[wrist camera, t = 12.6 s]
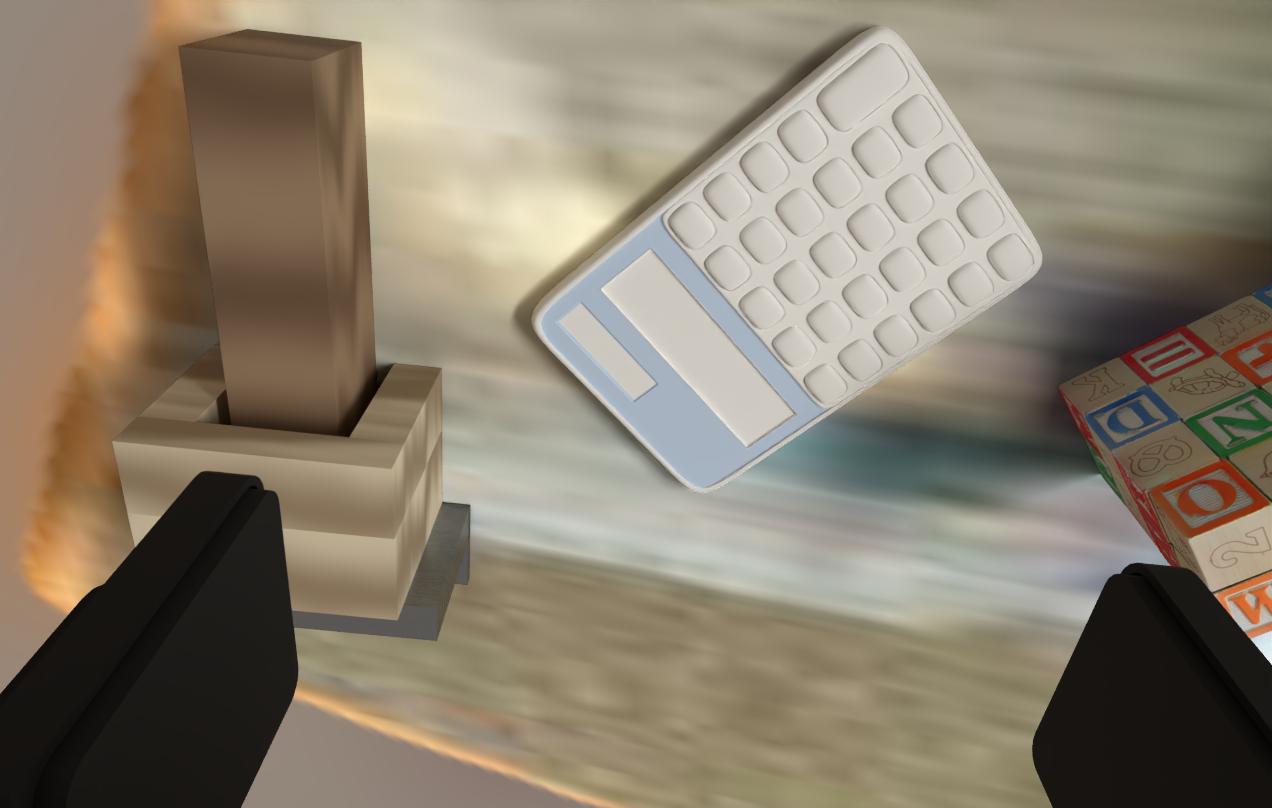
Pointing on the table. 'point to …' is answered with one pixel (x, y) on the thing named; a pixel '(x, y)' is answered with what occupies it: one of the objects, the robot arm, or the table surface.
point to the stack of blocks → (1194, 448)
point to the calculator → (791, 268)
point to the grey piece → (416, 585)
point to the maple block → (306, 482)
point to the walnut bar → (286, 225)
